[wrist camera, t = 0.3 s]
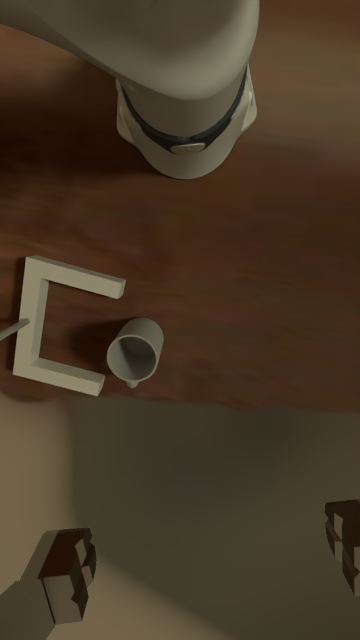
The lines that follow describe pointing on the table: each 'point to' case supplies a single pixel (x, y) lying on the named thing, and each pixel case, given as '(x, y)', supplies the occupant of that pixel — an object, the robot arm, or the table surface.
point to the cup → (136, 351)
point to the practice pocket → (33, 317)
